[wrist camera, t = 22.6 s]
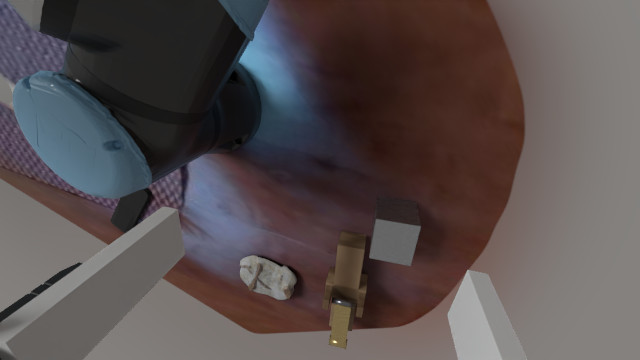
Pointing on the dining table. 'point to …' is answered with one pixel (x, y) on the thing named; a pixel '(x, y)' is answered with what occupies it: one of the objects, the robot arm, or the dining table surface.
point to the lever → (340, 322)
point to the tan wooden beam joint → (347, 275)
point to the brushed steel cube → (394, 230)
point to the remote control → (130, 209)
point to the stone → (267, 277)
